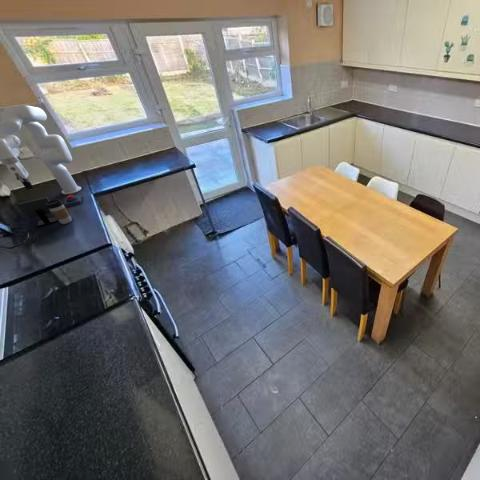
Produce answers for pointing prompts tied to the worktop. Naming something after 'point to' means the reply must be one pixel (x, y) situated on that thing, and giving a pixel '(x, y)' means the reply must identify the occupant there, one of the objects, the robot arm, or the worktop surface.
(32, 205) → the screen
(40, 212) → the monitor stand
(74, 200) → the switch box
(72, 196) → the power button
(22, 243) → the worktop surface
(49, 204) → the coffee cup
